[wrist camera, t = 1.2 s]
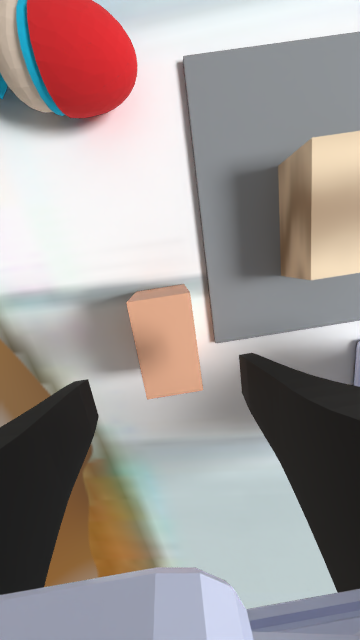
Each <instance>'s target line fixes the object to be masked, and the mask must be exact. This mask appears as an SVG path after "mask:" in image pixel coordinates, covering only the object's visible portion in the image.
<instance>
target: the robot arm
mask: <svg viewBox="0 0 360 640" xmlns="http://www.w3.org/2000/svg"><path fill="white" fill-rule="evenodd" d="M239 360H240V372H241V384H242V393H243V396H244V398H245V401H246V403H247V405H248V408H249V410H250V412H251V414H252V415H253V417H254V419H255V421H256V422H257V424H258V426H259V427H260V429H261V431H262V432H263V434H264V436H265V437H266V439H267V441H268V442H269V444H270V446H271V447H272V449H273V451H274V452H275V454H276V456H277V458H278V460H279V461H280V463H281V465H282V467H283V469H284V472H285V474H286V476H287V478H288V480H289V482H290V484H291V486H292V488H293V491H294V493H295V495H296V497H297V499H298V502H299V504H300V506H301V508H302V510H303V513H304V515H305V517H306V519H307V521H308V524H309V526H310V528H311V531H312V533H313V535H314V538H315V540H316V542H317V545H318V547H319V549H320V551H321V554H322V556H323V558H324V561H325V563H326V566H327V568H328V570H329V573H330V575H331V578H332V580H333V582H334V585H335V587H336V590H337V592H338V593H334V594H328V595H322V596H317V597H311V598H306V599H300V600H295V601H289V602H284V603H278V604H273V605H267V606H261V607H256V608H250V609H246V608H245V607H244V605H243V603H242V602H241V600H240V598H239V597H238V595H237V593H236V591H235V590H234V588H233V587H232V586H231V585H230V584H228V583H227V582H226V581H225V580H223V579H220V578H218V577H216V576H214V575H211V574H209V573H207V572H204V571H202V570H200V569H198V568H159V567H157V568H152V569H146V570H140V571H135V572H129V573H123V574H118V575H112V576H106V577H100V578H95V579H89V580H84V581H78V582H72V583H66V584H61V585H55V586H49V587H44V585H45V581H46V577H47V573H48V569H49V565H50V561H51V558H52V554H53V550H54V547H55V543H56V540H57V536H58V532H59V529H60V525H61V522H62V519H63V516H64V512H65V509H66V506H67V503H68V500H69V497H70V494H71V491H72V488H73V486H74V484H75V481H76V479H77V476H78V474H79V471H80V469H81V467H82V464H83V462H84V459H85V457H86V454H87V452H88V449H89V447H90V444H91V442H92V439H93V436H94V433H95V429H96V425H97V421H98V413H97V409H96V406H95V402H94V399H93V395H92V392H91V388H90V385H89V381H88V379H87V380H81V381H75V382H73V383H71V384H69V385H67V386H66V387H64V388H62V389H61V390H59V391H58V392H56V393H54V394H53V395H51V396H50V397H48V398H47V399H45V400H44V401H42V402H41V403H39V404H38V405H37V406H35V407H33V408H31V409H30V410H28V411H27V412H25V413H23V414H22V415H20V416H18V417H17V418H15V419H14V420H12V421H10V422H9V423H7V424H5V425H3V426H2V427H0V640H360V341H359V342H358V343H357V348H356V363H355V378H354V386H353V385H348V384H343V383H339V382H335V381H331V380H327V379H323V378H319V377H316V376H313V375H309V374H306V373H303V372H300V371H297V370H295V369H292V368H289V367H287V366H284V365H282V364H279V363H277V362H274V361H272V360H269V359H267V358H264V357H262V356H259V355H257V354H254V353H249V354H243V355H239Z"/></svg>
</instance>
